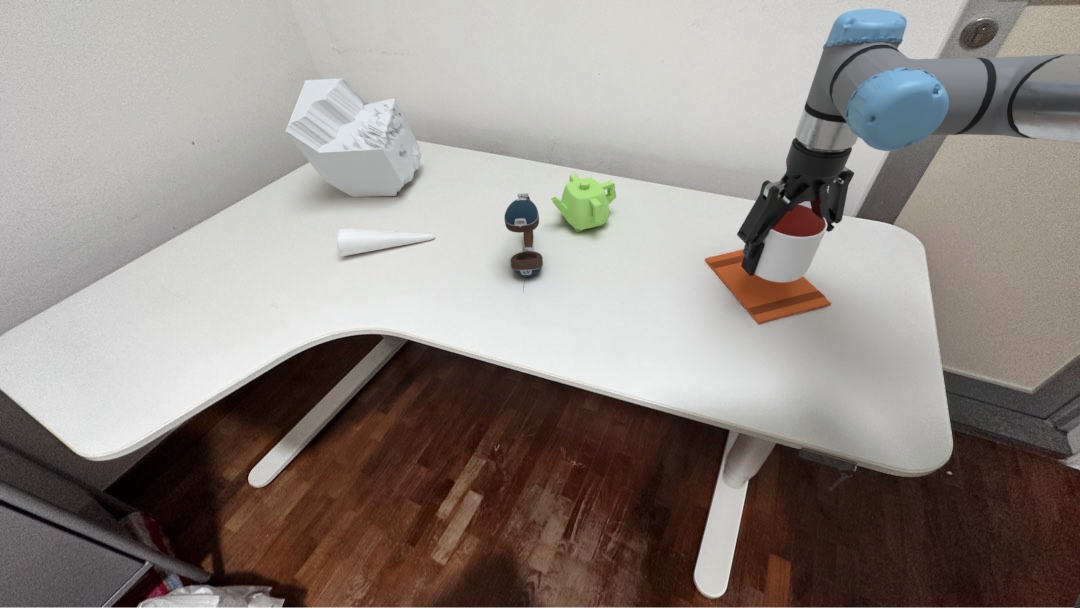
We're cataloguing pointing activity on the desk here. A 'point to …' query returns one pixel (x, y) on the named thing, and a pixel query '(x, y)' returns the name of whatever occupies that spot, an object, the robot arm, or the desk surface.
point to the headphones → (524, 220)
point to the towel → (765, 290)
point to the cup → (791, 245)
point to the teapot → (585, 202)
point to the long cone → (375, 240)
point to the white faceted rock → (353, 139)
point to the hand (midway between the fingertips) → (775, 263)
